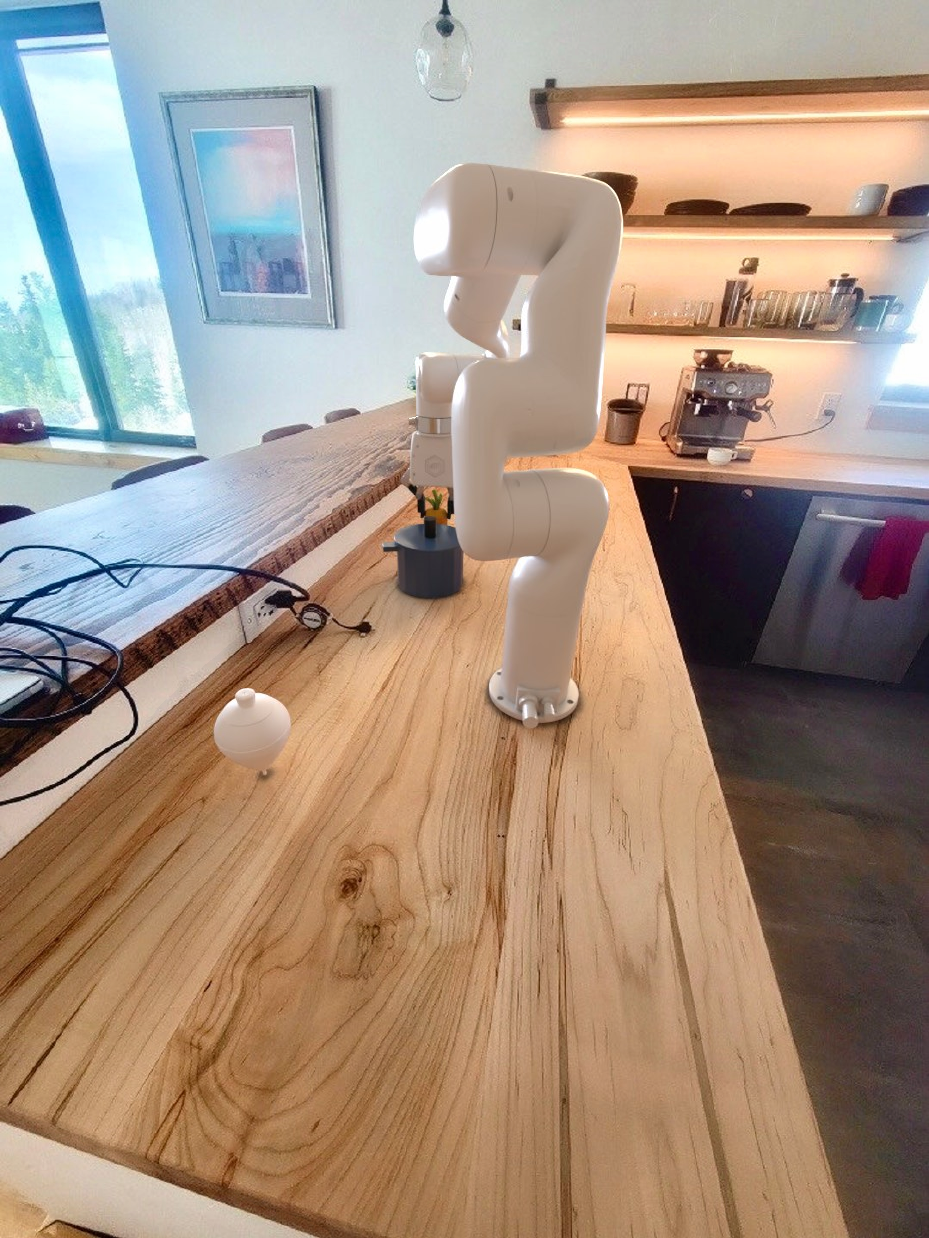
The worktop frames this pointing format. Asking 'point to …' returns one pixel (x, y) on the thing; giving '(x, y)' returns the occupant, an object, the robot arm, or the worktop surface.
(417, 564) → the pot
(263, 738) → the spinning top
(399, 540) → the pot lid
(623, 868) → the worktop surface
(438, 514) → the carrot
